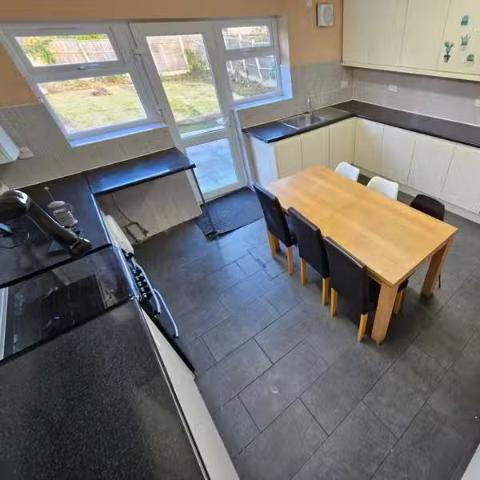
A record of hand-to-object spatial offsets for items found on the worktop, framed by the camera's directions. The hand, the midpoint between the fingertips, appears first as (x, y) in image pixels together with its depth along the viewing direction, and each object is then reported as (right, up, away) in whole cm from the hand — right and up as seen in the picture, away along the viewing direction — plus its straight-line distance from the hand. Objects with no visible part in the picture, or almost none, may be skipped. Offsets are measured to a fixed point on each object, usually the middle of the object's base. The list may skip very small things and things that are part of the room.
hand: (55, 227), depth 153 cm
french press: (-12, +4, +22) cm, 25 cm away
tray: (+2, -9, +5) cm, 11 cm away
